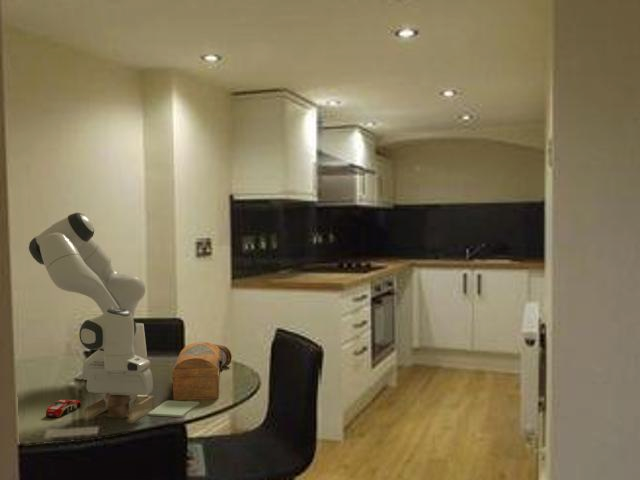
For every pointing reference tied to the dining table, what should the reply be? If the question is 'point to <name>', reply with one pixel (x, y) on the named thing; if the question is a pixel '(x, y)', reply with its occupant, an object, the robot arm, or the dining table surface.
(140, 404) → the birch u-shaped frame
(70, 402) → the race car
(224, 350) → the tin
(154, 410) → the felt mat
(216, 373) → the wooden box
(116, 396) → the walnut block
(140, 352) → the champagne flute
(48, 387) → the dining table surface
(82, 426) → the dining table surface
